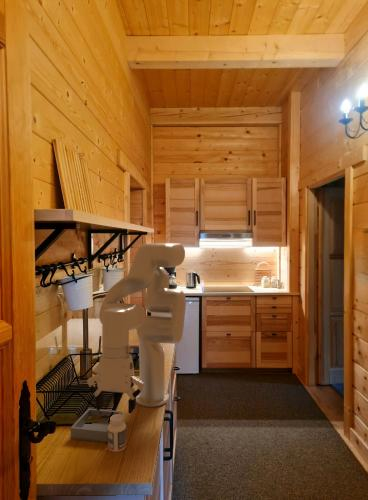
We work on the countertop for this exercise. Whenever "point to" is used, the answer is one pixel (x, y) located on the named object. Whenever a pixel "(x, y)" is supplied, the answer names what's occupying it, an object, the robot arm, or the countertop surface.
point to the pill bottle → (116, 433)
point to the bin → (92, 426)
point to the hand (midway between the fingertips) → (115, 409)
